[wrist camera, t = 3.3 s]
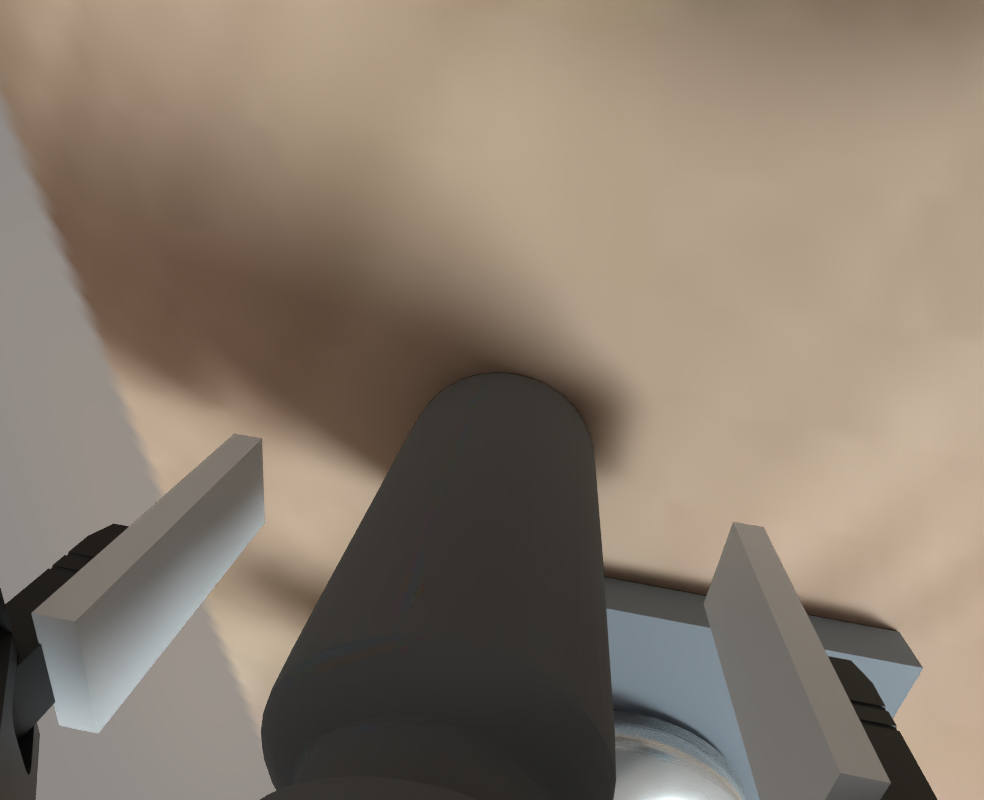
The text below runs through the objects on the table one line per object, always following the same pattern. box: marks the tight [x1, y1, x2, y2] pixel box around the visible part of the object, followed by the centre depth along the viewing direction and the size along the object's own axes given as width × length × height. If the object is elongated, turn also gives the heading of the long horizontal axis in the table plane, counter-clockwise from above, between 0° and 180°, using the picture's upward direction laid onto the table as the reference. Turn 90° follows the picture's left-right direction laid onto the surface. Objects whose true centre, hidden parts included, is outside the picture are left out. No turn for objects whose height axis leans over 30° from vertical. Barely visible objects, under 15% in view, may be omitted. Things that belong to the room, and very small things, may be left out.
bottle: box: [260, 373, 616, 800], centre depth 12 cm, size 6×6×15 cm
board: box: [604, 577, 923, 800], centre depth 23 cm, size 18×16×2 cm
